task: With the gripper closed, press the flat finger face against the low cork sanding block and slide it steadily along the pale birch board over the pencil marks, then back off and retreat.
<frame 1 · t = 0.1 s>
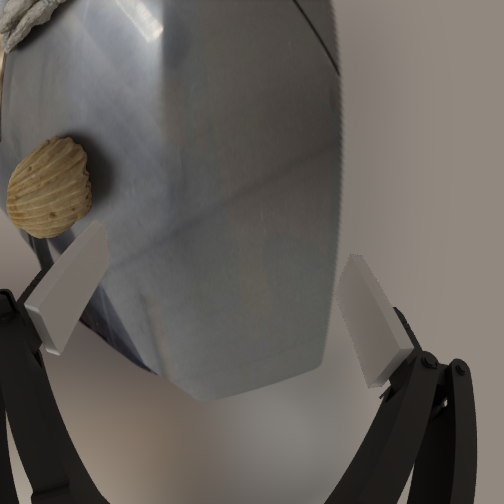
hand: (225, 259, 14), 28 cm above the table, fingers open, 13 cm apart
mineral 2: (43, 12, 20), on the table
fossil: (69, 174, 38), on the table
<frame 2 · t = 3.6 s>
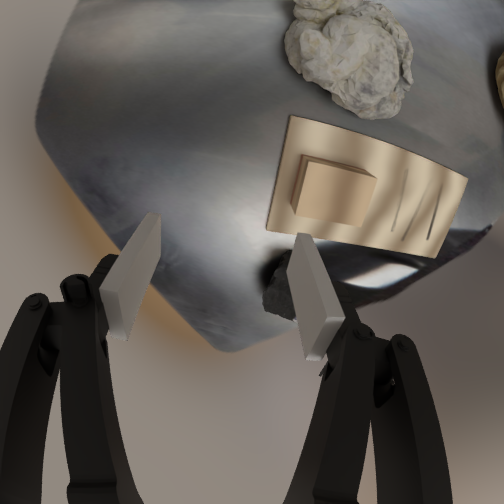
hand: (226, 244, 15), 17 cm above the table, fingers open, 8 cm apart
board: (381, 196, 32), on the table
mineral 2: (334, 53, 23), on the table
sanding block: (328, 185, 30), point 1 cm above the table, touching board
mineral: (288, 280, 39), on the table
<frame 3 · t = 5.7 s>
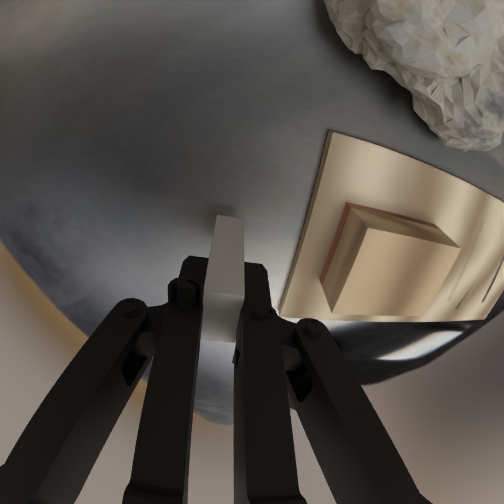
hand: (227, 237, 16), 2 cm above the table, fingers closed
board: (445, 257, 20), on the table
mineral 2: (401, 29, 11), on the table
sanding block: (381, 251, 18), point 1 cm above the table, touching board
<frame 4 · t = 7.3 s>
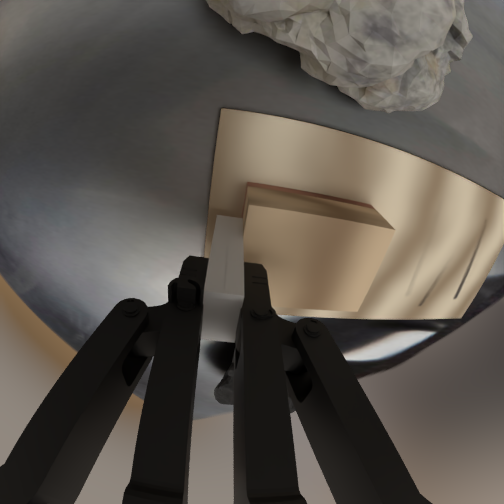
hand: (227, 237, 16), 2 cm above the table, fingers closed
board: (395, 245, 19), on the table
sanding block: (302, 236, 17), point 1 cm above the table, touching board, gripper
mineral: (256, 360, 26), on the table
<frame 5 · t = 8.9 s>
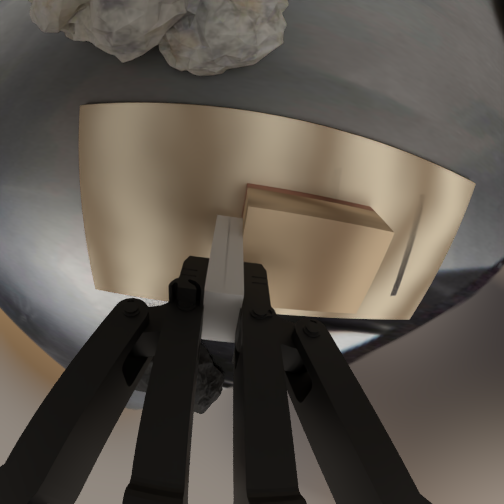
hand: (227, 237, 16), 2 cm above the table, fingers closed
board: (287, 227, 18), on the table
sanding block: (301, 237, 17), point 1 cm above the table, touching gripper
mineral: (172, 351, 25), on the table
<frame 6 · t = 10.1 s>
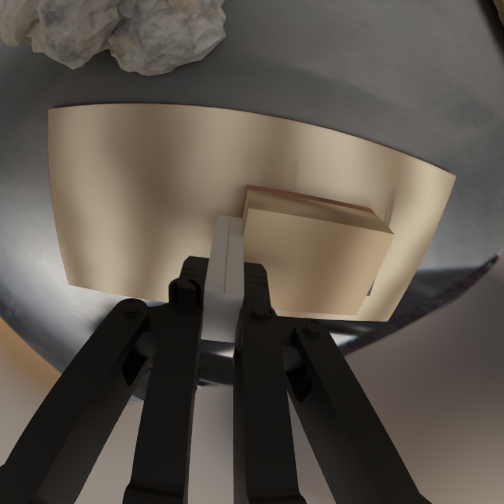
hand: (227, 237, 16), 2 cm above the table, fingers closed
board: (246, 223, 18), on the table
sanding block: (301, 239, 17), point 1 cm above the table, touching board, gripper
mineral: (148, 348, 25), on the table
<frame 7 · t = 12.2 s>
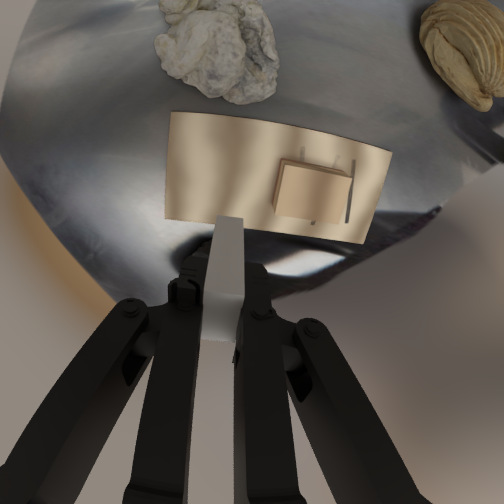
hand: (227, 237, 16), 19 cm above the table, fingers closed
board: (279, 179, 33), on the table
mineral 2: (216, 47, 25), on the table
fossil: (447, 51, 23), on the table
sanding block: (307, 186, 33), point 1 cm above the table, touching board
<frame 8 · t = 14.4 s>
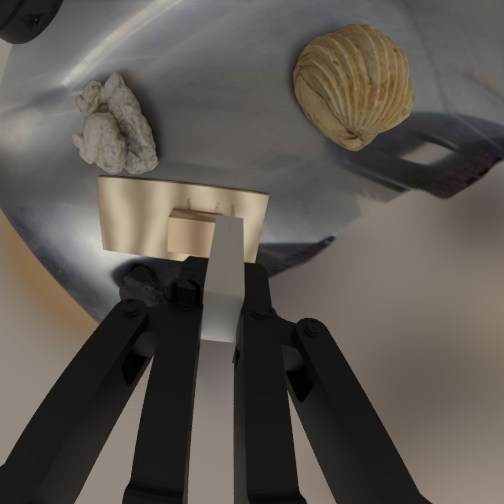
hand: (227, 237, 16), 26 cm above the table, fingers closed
board: (176, 222, 44), on the table
mineral 2: (123, 124, 35), on the table
fossil: (338, 86, 33), on the table
sanding block: (196, 227, 44), point 1 cm above the table, touching board
mineral: (144, 286, 51), on the table
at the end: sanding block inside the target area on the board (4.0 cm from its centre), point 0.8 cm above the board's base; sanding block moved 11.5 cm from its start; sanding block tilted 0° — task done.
